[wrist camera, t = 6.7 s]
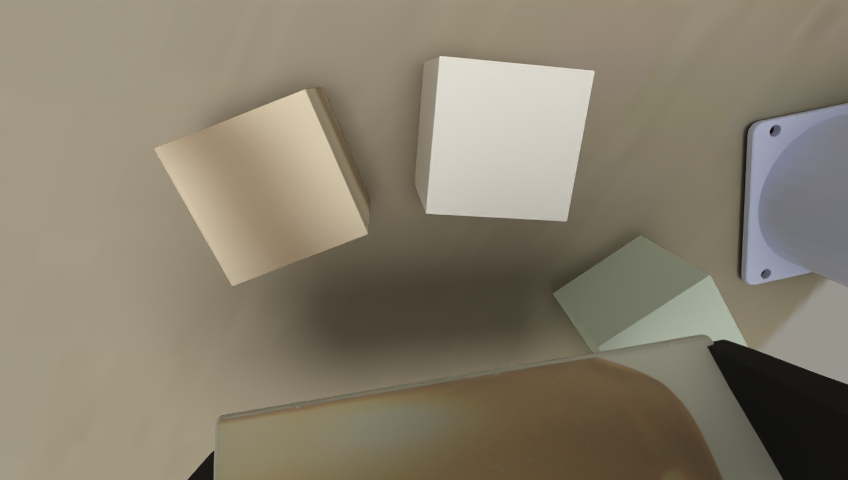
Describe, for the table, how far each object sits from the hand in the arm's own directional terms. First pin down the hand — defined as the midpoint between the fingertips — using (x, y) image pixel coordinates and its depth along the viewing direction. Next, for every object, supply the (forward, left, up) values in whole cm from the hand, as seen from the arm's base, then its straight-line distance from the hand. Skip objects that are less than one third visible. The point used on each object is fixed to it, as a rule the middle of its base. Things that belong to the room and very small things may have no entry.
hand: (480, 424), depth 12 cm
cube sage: (-9, +4, -10) cm, 14 cm away
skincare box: (-6, +2, 0) cm, 7 cm away
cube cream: (-3, -6, -10) cm, 12 cm away
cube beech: (+5, -6, -10) cm, 13 cm away
